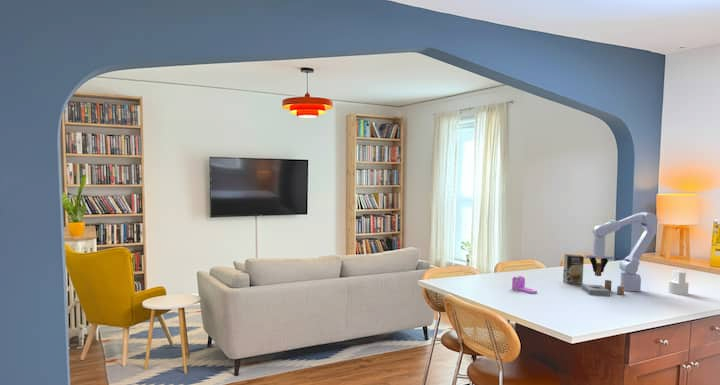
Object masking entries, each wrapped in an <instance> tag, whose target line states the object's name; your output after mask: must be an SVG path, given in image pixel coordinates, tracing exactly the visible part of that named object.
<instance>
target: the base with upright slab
mask: <svg viewBox="0 0 720 385" xmlns="http://www.w3.org/2000/svg"><path fill="white" fill-rule="evenodd" d="M686 274H687V273H686V272H685V271H683V270H680V269H672V274H671V276H672V277H671V280H668V286H667V287H668V291H667V292H668V294H672V295H676V296H688V295H689V282H688V281H687V282H686V278H687V277H686V276H687V275H686Z"/></svg>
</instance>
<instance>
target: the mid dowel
mask: <svg viewBox="0 0 720 385" xmlns="http://www.w3.org/2000/svg"><path fill="white" fill-rule="evenodd" d="M604 287H605V288H606V289H608V290H609V291H610V292H611V291H612V280H610V279H604Z"/></svg>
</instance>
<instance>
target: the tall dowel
mask: <svg viewBox="0 0 720 385" xmlns="http://www.w3.org/2000/svg"><path fill="white" fill-rule="evenodd" d="M601 270H602V263H601V262H596V272H594V276H595V277H601V276H602V272H601Z"/></svg>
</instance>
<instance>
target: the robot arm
mask: <svg viewBox="0 0 720 385" xmlns="http://www.w3.org/2000/svg"><path fill="white" fill-rule="evenodd" d="M658 222H659V219H658V217H657V214H655V213H654V212H647V211H641V212H637V213H634V214H632V215H630V216H628V217H624V218H622V219H621V220H615V219H614V220H613V219H610V220H609V221H608V222H606V223H601V225H596V226H594V227H593V229H592V233H593V235H594V236H593V251H592V252H593V253H592V254H587V253H586V254H584V256H583V257H584V259H589V261H590V264H591V266H592V269H593V270H592V271H593V272H594V273H595V272H596V263H598V261H597V259H598V260H600V263H602V270H601V273H604V270H605V267H606V266H607V264H608V262H609V260H610V261H614V255H606V236H607V235H609V234H612V233H614V232H617V231H619V230H621V227H625V226H628V225H630V224H633V223H640V224H641V225H642V228H643V230H644V231H643V232H642V234H641V236H640V237H639V239H638V240H637V242H636V243H635V246H634V247H633V248H632V250H631V252H630V253H629V254H628V255H627V256H626V257H624V259H623V260H622V261H620V262H619V265H618V266H619V269H620V270H621V271H620V281H619V282H620V284H619V286H623V287H624V292H625V291H626V292H642V290H641V287H642V286H641V285H642V277H641V275H640V274H637V272H638V270H639V269H638V268H639V265H640V260H641V258H642V256H643V255H644V253H645V252H646V250H647V249H648V247H649V245H650V244H651V242H652V240H653V238H654V237H655V236H656V234H657V231H658Z"/></svg>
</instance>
